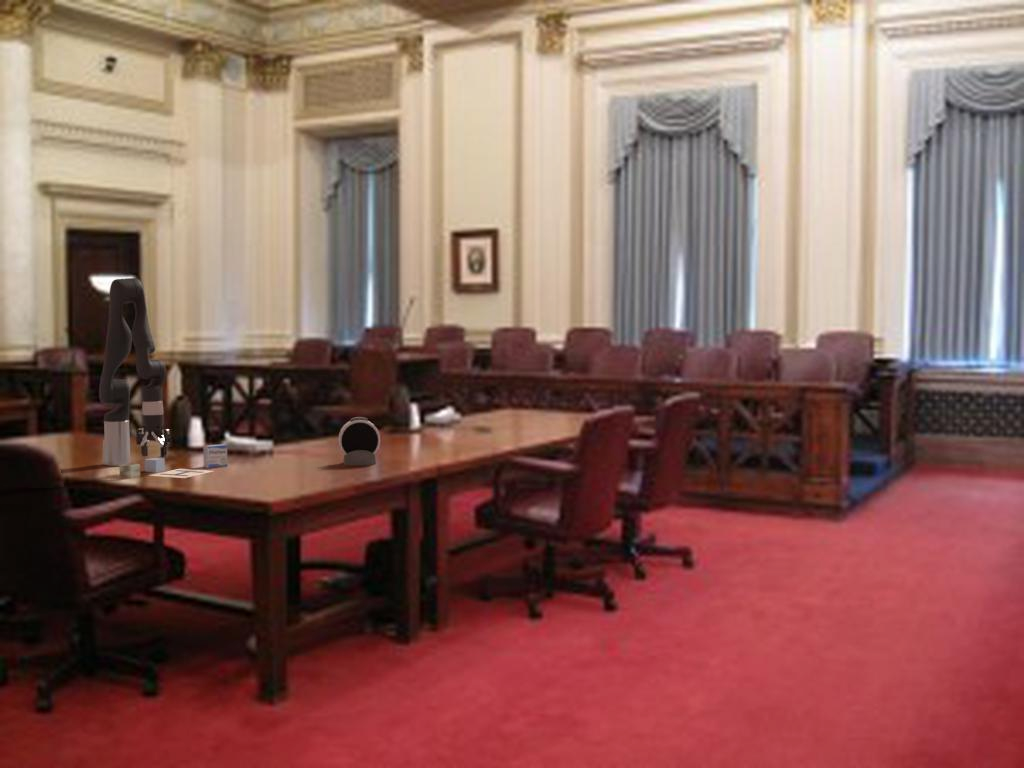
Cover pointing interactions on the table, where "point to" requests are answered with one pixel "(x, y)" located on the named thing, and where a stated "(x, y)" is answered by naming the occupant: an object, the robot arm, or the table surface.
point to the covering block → (129, 470)
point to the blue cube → (154, 464)
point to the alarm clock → (359, 442)
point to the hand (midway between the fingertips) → (154, 456)
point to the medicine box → (215, 456)
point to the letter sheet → (181, 473)
